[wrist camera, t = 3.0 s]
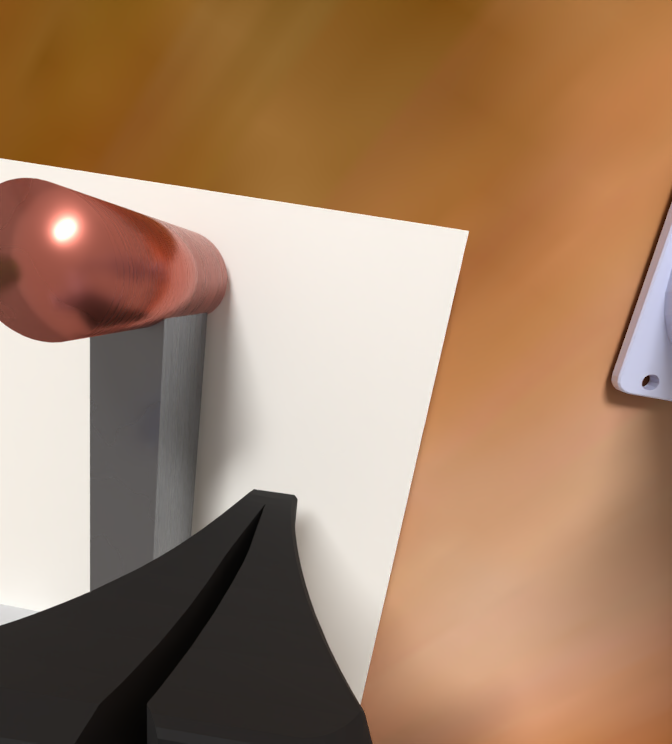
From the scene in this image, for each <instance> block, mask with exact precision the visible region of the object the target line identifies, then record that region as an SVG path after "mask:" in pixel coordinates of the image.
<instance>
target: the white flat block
mask: <svg viewBox="0 0 672 744" xmlns="http://www.w3.org/2000/svg"><path fill="white" fill-rule="evenodd" d="M16 178H37V179H41V180H45V181H49V182H52V183H55V184H58V185H60V186H63V187H66V188H69V189H72V190H75V191H78V192H81V193H84V194H86V195H89V196H92V197H95V198H98V199H101V200H104V201H107V202H110V203H112V204H115V205H118V206H121V207H124V208H127V209H130V210H133V211H136V212H138V213H141V214H144V215H147V216H150V217H153V218H156V219H159V220H161V221H164V222H167V223H170V224H173V225H176V226H179V227H182V228H185V229H187V230H190V231H193V232H196V233H198V234H200V235H202V236H204V237H206V238H207V239H208V240H210V241H211V242H212V243H213V244H214V245H215V247H216V248H217V249H218V250H219V252H220V254H221V255H222V257H223V259H224V262H225V265H226V269H227V288H226V292H225V295H224V297H223V299H222V301H221V303H220V304H219V305H218V307H217V308H216V309H215V310H214V311H213V312H211V313H210V314H208V316H207V329H206V343H205V356H204V369H203V383H202V396H201V410H200V423H199V437H198V450H197V463H196V477H195V490H194V504H193V517H192V531H191V536H193V535H194V534H196V533H197V532H199V531H200V530H202V529H203V528H204V527H206V526H207V525H208V524H210V523H211V522H212V521H214V520H215V519H216V518H218V517H219V516H220V515H222V514H223V513H224V512H225V511H227V510H228V509H229V508H230V507H232V506H233V505H234V504H235V503H237V502H238V501H239V500H240V499H242V498H243V497H244V496H245V495H247V494H248V493H249V492H251V491H252V490H253V489H257V490H264V491H271V492H278V493H285V494H292V495H295V496H296V497H297V499H298V501H297V512H296V522H295V533H296V541H297V548H298V554H299V559H300V563H301V568H302V572H303V576H304V580H305V583H306V587H307V590H308V593H309V597H310V600H311V602H312V605H313V608H314V611H315V614H316V616H317V619H318V621H319V624H320V626H321V628H322V631H323V633H324V635H325V638H326V640H327V643H328V645H329V647H330V649H331V651H332V653H333V655H334V658H335V660H336V662H337V664H338V666H339V668H340V670H341V672H342V674H343V675H344V677H345V679H346V681H347V683H348V685H349V686H350V688H351V690H352V692H353V694H354V695H355V697H356V699H357V700H358V702H359V704H360V705H361V700H362V696H363V692H364V687H365V683H366V679H367V674H368V670H369V665H370V661H371V657H372V652H373V648H374V644H375V639H376V635H377V631H378V626H379V622H380V617H381V613H382V609H383V604H384V600H385V596H386V591H387V587H388V582H389V578H390V574H391V569H392V565H393V561H394V556H395V552H396V547H397V543H398V539H399V534H400V530H401V526H402V521H403V517H404V512H405V508H406V504H407V499H408V495H409V491H410V486H411V482H412V477H413V473H414V469H415V464H416V460H417V456H418V451H419V447H420V443H421V438H422V434H423V429H424V425H425V421H426V416H427V412H428V408H429V403H430V399H431V394H432V390H433V386H434V381H435V377H436V373H437V368H438V364H439V359H440V355H441V351H442V346H443V342H444V338H445V333H446V329H447V324H448V320H449V316H450V311H451V307H452V303H453V298H454V294H455V289H456V285H457V281H458V276H459V272H460V268H461V263H462V259H463V255H464V250H465V246H466V241H467V237H468V233H469V231H465V230H459V229H452V228H446V227H440V226H433V225H427V224H420V223H414V222H407V221H401V220H394V219H388V218H381V217H375V216H369V215H362V214H356V213H349V212H343V211H336V210H330V209H323V208H317V207H310V206H304V205H298V204H291V203H285V202H278V201H272V200H265V199H259V198H252V197H246V196H239V195H233V194H227V193H220V192H214V191H207V190H201V189H194V188H188V187H181V186H175V185H168V184H162V183H156V182H149V181H143V180H136V179H130V178H123V177H117V176H110V175H104V174H97V173H91V172H85V171H78V170H72V169H65V168H59V167H52V166H46V165H39V164H33V163H26V162H20V161H14V160H7V159H1V158H0V183H2V182H5V181H7V180H12V179H16ZM88 592H90V337H89V338H83V339H77V340H71V341H65V342H55V343H50V342H42V341H37V340H33V339H30V338H28V337H25V336H23V335H21V334H19V333H17V332H15V331H13V330H12V329H10V328H9V327H7V326H6V325H4V324H3V323H2V322H1V321H0V625H3V624H6V623H9V622H12V621H16V620H19V619H21V618H24V617H27V616H30V615H33V614H35V613H38V612H41V611H43V610H46V609H48V608H51V607H54V606H56V605H59V604H61V603H64V602H66V601H69V600H71V599H74V598H76V597H78V596H81V595H83V594H85V593H88Z"/></svg>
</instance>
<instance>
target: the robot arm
mask: <svg viewBox="0 0 672 744" xmlns="http://www.w3.org/2000/svg"><path fill="white" fill-rule="evenodd" d="M648 375H649V376H650V381H649V382H648V384H647V385H645V386H642V381H643V379H644V378H645V377H646V376H648ZM611 381H612V384H613V386H614V387H615V388H616V389H617V390H620V391H622V392H625V393H627V394H632V395H638V396H644V397H650V398H655V399H661V400H667V401H672V203H671V206H670V209H669V212H668V214H667V217H666V220H665V223H664V226H663V229H662V232H661V235H660V238H659V240H658V243H657V246H656V249H655V252H654V255H653V258H652V261H651V264H650V267H649V269H648V272H647V275H646V278H645V281H644V284H643V287H642V290H641V293H640V295H639V298H638V301H637V304H636V307H635V310H634V313H633V316H632V319H631V322H630V324H629V327H628V330H627V333H626V336H625V339H624V342H623V345H622V348H621V350H620V353H619V356H618V359H617V362H616V365H615V368H614V371H613V374H612V379H611ZM297 501H298V499H297V497H296V496H295V495H292V494H285V493H278V492H271V491H264V490H257V489H253V490H252V491H251V492H249V493H248V494H247V495H245V496H244V497H243V498H242V499H240V500H239V501H238V502H237V503H235V504H234V505H233V506H232V507H230V508H229V509H228V510H227V511H225V512H224V513H223V514H222V515H220V516H219V517H218V518H216V519H215V520H214V521H212V522H211V523H210V524H208V525H207V526H206V527H204V528H203V529H202V530H200V531H199V532H197V533H196V534H194V535H193V536H191V537H190V538H188V539H187V540H185V541H184V542H183V543H181V544H180V545H178V546H176V547H175V548H173V549H172V550H170V551H168V552H167V553H165V554H163V555H162V556H160V557H158V558H156V559H154V560H153V561H151V562H149V563H147V564H145V565H144V566H142V567H140V568H138V569H136V570H134V571H132V572H130V573H128V574H126V575H124V576H122V577H120V578H118V579H116V580H113V581H111V582H109V583H107V584H105V585H103V586H101V587H99V588H97V589H95V590H92V591H90V592H88V593H85V594H83V595H81V596H78V597H76V598H74V599H71V600H69V601H66V602H64V603H61V604H59V605H56V606H54V607H51V608H48V609H46V610H43V611H41V612H38V613H35V614H33V615H30V616H27V617H24V618H21V619H19V620H16V621H12V622H9V623H6V624H3V625H0V744H372V740H371V736H370V732H369V729H368V725H367V721H366V717H365V713H364V711H363V709H362V707H361V705H360V704H359V702H358V700H357V699H356V697H355V695H354V694H353V692H352V690H351V688H350V686H349V685H348V683H347V681H346V679H345V677H344V675H343V674H342V672H341V670H340V668H339V666H338V664H337V662H336V660H335V658H334V655H333V653H332V651H331V649H330V647H329V645H328V643H327V640H326V638H325V635H324V633H323V631H322V628H321V626H320V624H319V621H318V619H317V616H316V614H315V611H314V608H313V605H312V602H311V600H310V597H309V593H308V590H307V587H306V583H305V580H304V576H303V572H302V568H301V563H300V559H299V554H298V548H297V541H296V533H295V522H296V512H297Z"/></svg>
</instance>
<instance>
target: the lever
mask: <svg viewBox="0 0 672 744" xmlns="http://www.w3.org/2000/svg"><path fill="white" fill-rule="evenodd" d="M226 288H227V269H226V265H225V262H224V259H223V257H222V255H221V254H220V252H219V250H218V249H217V248H216V247H215V245H214V244H213V243H212V242H211V241H210V240H208V239H207V238H206V237H204V236H202V235H200V234H198V233H196V232H193V231H190V230H187V229H185V228H182V227H179V226H176V225H173V224H170V223H167V222H164V221H161V220H159V219H156V218H153V217H150V216H147V215H144V214H141V213H138V212H136V211H133V210H130V209H127V208H124V207H121V206H118V205H115V204H112V203H110V202H107V201H104V200H101V199H98V198H95V197H92V196H89V195H86V194H84V193H81V192H78V191H75V190H72V189H69V188H66V187H63V186H60V185H58V184H55V183H52V182H49V181H45V180H41V179H37V178H16V179H12V180H7V181H5V182H2V183H0V321H1V322H2V323H3V324H4V325H6V326H7V327H9V328H10V329H12V330H13V331H15V332H17V333H19V334H21V335H23V336H25V337H28V338H30V339H33V340H37V341H42V342H50V343H55V342H65V341H71V340H77V339H83V338H89V337H90V591H92V590H95V589H97V588H99V587H101V586H103V585H105V584H107V583H109V582H111V581H113V580H116V579H118V578H120V577H122V576H124V575H126V574H128V573H130V572H132V571H134V570H136V569H138V568H140V567H142V566H144V565H145V564H147V563H149V562H151V561H153V560H154V559H156V558H158V557H160V556H162V555H163V554H165V553H167V552H168V551H170V550H172V549H173V548H175V547H176V546H178V545H180V544H181V543H183V542H184V541H185V540H187V539H188V538H190V537H191V531H192V517H193V504H194V490H195V477H196V463H197V450H198V437H199V423H200V410H201V396H202V383H203V369H204V356H205V343H206V329H207V316H208V314H210V313H211V312H213V311H214V310H215V309H216V308H217V307H218V305H219V304H220V303H221V301H222V299H223V297H224V295H225V292H226Z"/></svg>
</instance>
